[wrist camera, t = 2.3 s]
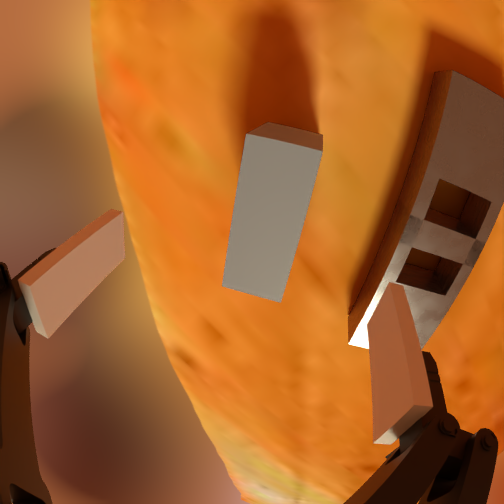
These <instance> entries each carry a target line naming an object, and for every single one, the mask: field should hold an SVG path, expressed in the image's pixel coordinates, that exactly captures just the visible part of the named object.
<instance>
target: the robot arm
mask: <svg viewBox="0 0 504 504" xmlns="http://www.w3.org/2000/svg"><path fill="white" fill-rule="evenodd" d="M123 259H125V249H124V226H123V212H121V211H117V210H113V209H111V210H109V211H107V212H106V213H105V214H103V215H102V216H100V217H99V218H97V219H96V220H95V221H93V222H92V223H90V224H89V225H87V226H86V227H85V228H83V229H82V230H80V231H79V232H78V233H76V234H75V235H74V236H72V237H71V238H70V239H68V240H67V241H66V242H64V243H63V244H62V245H60V246H59V247H58V248H54V249H51V250H49V251H47V252H45V253H44V254H42V255H41V256H40V257H39V258H38V260H37V259H36V260H35V261H34V262H32V264H30V265H29V266H27V267H26V268H25V269H24V270H23V271H21V272H20V273H19V274H18V275H17V276H15V277H14V278H13V279H12V280H11V277H10V274H9V271H8V268H7V265H6V264H5V263H3V262H0V504H12V503H13V504H52V501H51V497H50V494H49V491H48V489H47V487H46V485H45V483H44V482H43V480H42V478H41V476H40V472H39V467H38V461H37V455H36V449H35V443H34V435H33V426H32V417H31V403H30V384H29V383H30V382H29V346H30V343H29V342H30V329H29V327H28V326H29V325H30V323H32V322H33V324H34V326H35V329H36V332H38V333H40V334H41V335H43V336H45V337H46V338H49V337H50V336H51V335H52V334H53V333H54V332H55V331H56V329H57V328H58V327H59V326H60V325H61V324H62V323H63V322H64V321H65V319H66V318H67V317H68V316H69V315H70V314H71V313H72V312H73V311H74V310H75V309H76V308H77V306H78V305H79V304H80V303H81V302H82V301H83V300H84V299H85V298H86V297H87V296H88V295H89V293H91V292H92V291H93V290H94V289H95V288H96V287H97V285H98V284H99V283H100V282H102V280H103V279H104V278H105V277H106V276H107V275H108V274H109V273H110V272H111V271H112V270H113V269H114V268H115V267H116V266H117V265H119V263H121V262H122V261H123ZM367 333H368V343H369V354H370V367H371V383H372V404H373V443H378V444H392V443H393V442H394V441H396V440H397V439H398V438H399V441H400V446H399V447H398V448H397V449H395V450H394V451H393V452H391V453H390V454H389V455H387V456H386V458H388V459H387V460H386V461H385V462H384V463H383V464H382V465H381V466H380V468H379V469H378V470H377V471H376V472H375V473H374V474H373V475H372V476H371V477H370V478H369V479H368V480H367V481H366V482H365V483H364V484H363V485H362V486H361V487H360V488H359V489H358V490H357V491H356V492H355V493H354V494H353V495H352V496H351V497H350V498H349V499H348V500H347V501H346V502H345V503H344V504H417V502H418V501H419V500H420V501H419V503H418V504H486V503H487V499H488V495H489V491H490V487H491V483H492V478H493V473H494V469H495V464H496V458H497V452H498V441H497V437H496V436H495V434H494V433H493V432H492V431H491V430H490V429H487V428H483V429H480V430H479V431H478V432H477V433H475V434H472V433H469V432H467V431H464V430H462V429H460V426H459V423H458V421H457V420H456V418H455V417H454V416H453V415H451V414H449V413H447V409H446V404H445V399H444V394H443V390H442V385H441V383H440V377H439V375H438V369H437V365H436V362H435V360H434V359H433V357H432V355H431V354H430V352H424V351H421V347H420V343H419V339H418V335H417V331H416V327H415V324H414V320H413V317H412V313H411V310H410V306H409V303H408V300H407V296H406V293H405V290H404V287H403V285H399V284H395V283H392V282H389V283H388V285H387V287H386V289H385V291H384V293H383V295H382V297H381V299H380V301H379V303H378V305H377V307H376V309H375V310H374V312H373V314H372V316H371V318H370V320H369V322H368V323H367ZM420 498H421V499H420Z"/></svg>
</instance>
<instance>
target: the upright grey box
mask: <svg viewBox="0 0 504 504" xmlns="http://www.w3.org/2000/svg"><path fill="white" fill-rule="evenodd" d="M322 152H323V135H321V134H317V133H314V132H310V131H306V130H302V129H297V128H293V127H289V126H284V125H280V124H275V123H271V122H267V123H265V124H263V125H261V126H259V127H257V128H256V129H254V130H252V131H250V132H248V133H246V138H245V143H244V149H243V155H242V161H241V167H240V173H239V179H238V185H237V191H236V197H235V204H234V210H233V216H232V223H231V229H230V236H229V242H228V249H227V256H226V262H225V269H224V276H223V283H222V286H223V287H227V288H230V289H234V290H237V291H241V292H244V293H248V294H251V295H255V296H258V297H262V298H266V299H269V300H273V301H277V302H280V303H281V300H282V297H283V293H284V290H285V287H286V283H287V280H288V277H289V273H290V270H291V266H292V263H293V260H294V256H295V253H296V249H297V246H298V242H299V239H300V235H301V231H302V228H303V224H304V221H305V217H306V213H307V210H308V206H309V202H310V199H311V195H312V191H313V187H314V183H315V180H316V176H317V172H318V168H319V164H320V160H321V156H322Z"/></svg>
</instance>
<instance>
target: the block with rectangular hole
mask: <svg viewBox="0 0 504 504" xmlns="http://www.w3.org/2000/svg"><path fill="white" fill-rule="evenodd" d="M439 179H442V180H444V181H447V182H449V183H451V184H454V185H456V186H458V187H461V188H463V189H465V190H467V191H470V194H469V197H468V200H467V202H466V205H465V207H464V210H463V212H462V214H461V217H460V219H456V218H454V217H451V216H449V215H446V214H443V213H441V212H438V211H436V210H433V209H430V208H429V205H430V203H431V200H432V197H433V195H434V192H435V189H436V187H437V184H438V181H439ZM503 202H504V99H503V98H502V97H500V96H499V95H497V94H495V93H494V92H492V91H491V90H489V89H487V88H485V87H484V86H482V85H480V84H478V83H477V82H475V81H473V80H471V79H469V78H467V77H466V76H464V75H462V74H460V73H458V72H456V71H454V70H449V71H441V72H435V73H434V78H433V82H432V87H431V91H430V96H429V100H428V104H427V108H426V112H425V116H424V120H423V123H422V127H421V131H420V134H419V138H418V141H417V144H416V148H415V151H414V154H413V158H412V161H411V164H410V167H409V170H408V173H407V176H406V179H405V182H404V185H403V188H402V191H401V194H400V197H399V199H398V202H397V205H396V208H395V210H394V213H393V216H392V218H391V221H390V224H389V226H388V229H387V231H386V234H385V236H384V239H383V241H382V244H381V246H380V249H379V251H378V253H377V256H376V258H375V260H374V263H373V265H372V267H371V270H370V272H369V274H368V276H367V279H366V281H365V283H364V285H363V287H362V290H361V292H360V294H359V296H358V298H357V300H356V302H355V304H354V306H353V309H352V311H351V313H350V315H349V317H348V343H349V344H350V345H355V346H359V347H364V348H369V343H368V333H367V323H368V322H369V320H370V318H371V316H372V314H373V312H374V310H375V309H376V307H377V305H378V303H379V301H380V299H381V297H382V295H383V293H384V291H385V289H386V287H387V285H388V283H389V282H392V283H395V284H399V285H403V287H404V290H405V293H406V296H407V300H408V303H409V306H410V310H411V313H412V317H413V320H414V324H415V327H416V331H417V335H418V339H419V343H420V347H421V349H422V348H423V347H424V345H425V344H426V342H427V341H428V340H429V338H430V337H431V335H432V334H433V333H434V331H435V330H436V328H437V327H438V325H439V324H440V322H441V321H442V319H443V318H444V316H445V315H446V313H447V311H448V310H449V308H450V307H451V305H452V303H453V302H454V300H455V299H456V297H457V295H458V294H459V292H460V290H461V288H462V287H463V285H464V283H465V281H466V280H467V278H468V276H469V274H470V273H471V271H472V269H473V267H474V265H475V263H476V261H477V259H478V257H479V255H480V253H481V251H482V249H483V247H484V245H485V243H486V241H487V239H488V237H489V235H490V233H491V231H492V228H493V226H494V224H495V222H496V219H497V217H498V215H499V212H500V210H501V207H502V205H503ZM412 247H413V248H416V249H419V250H422V251H425V252H428V253H431V254H434V255H438V256H441V257H442V258H441V260H440V262H439V264H438V266H437V268H436V270H435V272H433V271H430V270H427V269H423V268H420V267H417V266H413V265H410V264H407V263H405V261H406V259H407V257H408V255H409V253H410V250H411V248H412Z"/></svg>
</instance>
